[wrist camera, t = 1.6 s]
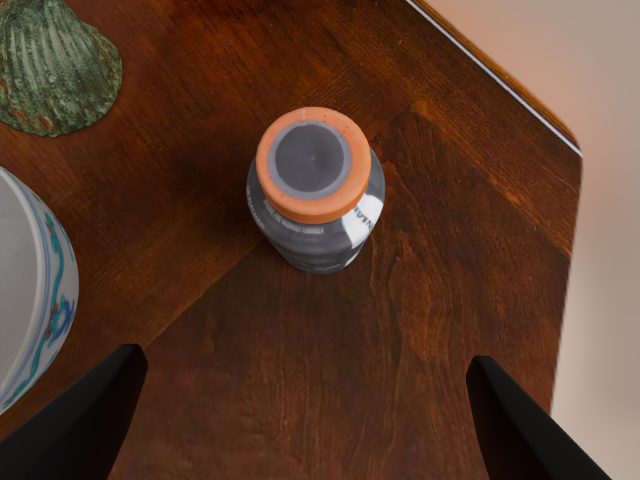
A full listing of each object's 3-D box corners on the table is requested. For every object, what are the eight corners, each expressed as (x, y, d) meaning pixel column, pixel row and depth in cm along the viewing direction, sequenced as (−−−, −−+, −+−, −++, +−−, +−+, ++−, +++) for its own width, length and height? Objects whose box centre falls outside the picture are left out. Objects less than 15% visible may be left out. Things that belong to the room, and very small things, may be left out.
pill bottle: (382, 240, 22) (438, 178, 11) (308, 293, 22) (289, 282, 11) (330, 170, 23) (333, 48, 12) (257, 219, 23) (191, 138, 12)
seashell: (-95, 95, 20) (-45, -45, 22) (-30, 130, 24) (8, 9, 26) (79, 116, 21) (114, -23, 22) (115, 146, 25) (142, 26, 26)
